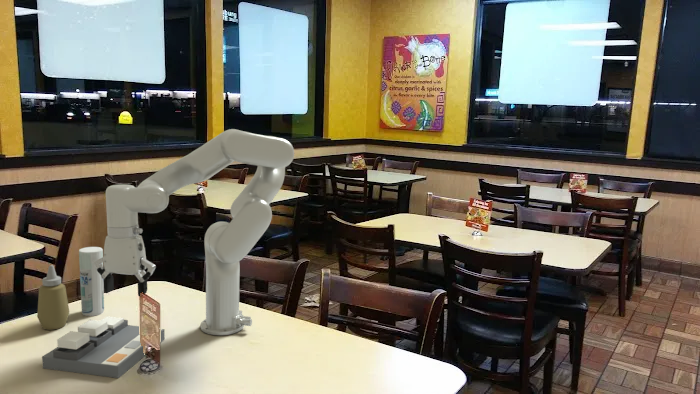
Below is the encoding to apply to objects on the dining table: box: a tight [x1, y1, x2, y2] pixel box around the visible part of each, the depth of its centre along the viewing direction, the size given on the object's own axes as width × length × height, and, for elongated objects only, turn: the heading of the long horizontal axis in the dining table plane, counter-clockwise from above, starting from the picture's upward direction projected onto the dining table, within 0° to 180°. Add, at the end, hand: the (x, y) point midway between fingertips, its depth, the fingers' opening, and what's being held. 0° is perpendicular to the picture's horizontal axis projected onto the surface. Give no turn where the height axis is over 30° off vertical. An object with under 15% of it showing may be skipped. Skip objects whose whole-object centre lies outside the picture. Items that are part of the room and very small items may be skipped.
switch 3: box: [100, 315, 125, 328], centre depth 146 cm, size 5×5×2 cm
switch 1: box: [56, 330, 90, 349], centre depth 131 cm, size 5×5×2 cm
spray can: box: [78, 246, 105, 317], centre depth 162 cm, size 6×6×20 cm
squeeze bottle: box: [36, 264, 70, 331], centre depth 152 cm, size 8×8×18 cm
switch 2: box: [77, 319, 108, 337], centre depth 138 cm, size 5×5×2 cm
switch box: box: [41, 319, 166, 379], centre depth 138 cm, size 20×22×5 cm
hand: (125, 293), depth 144 cm, fingers open, 9 cm apart
